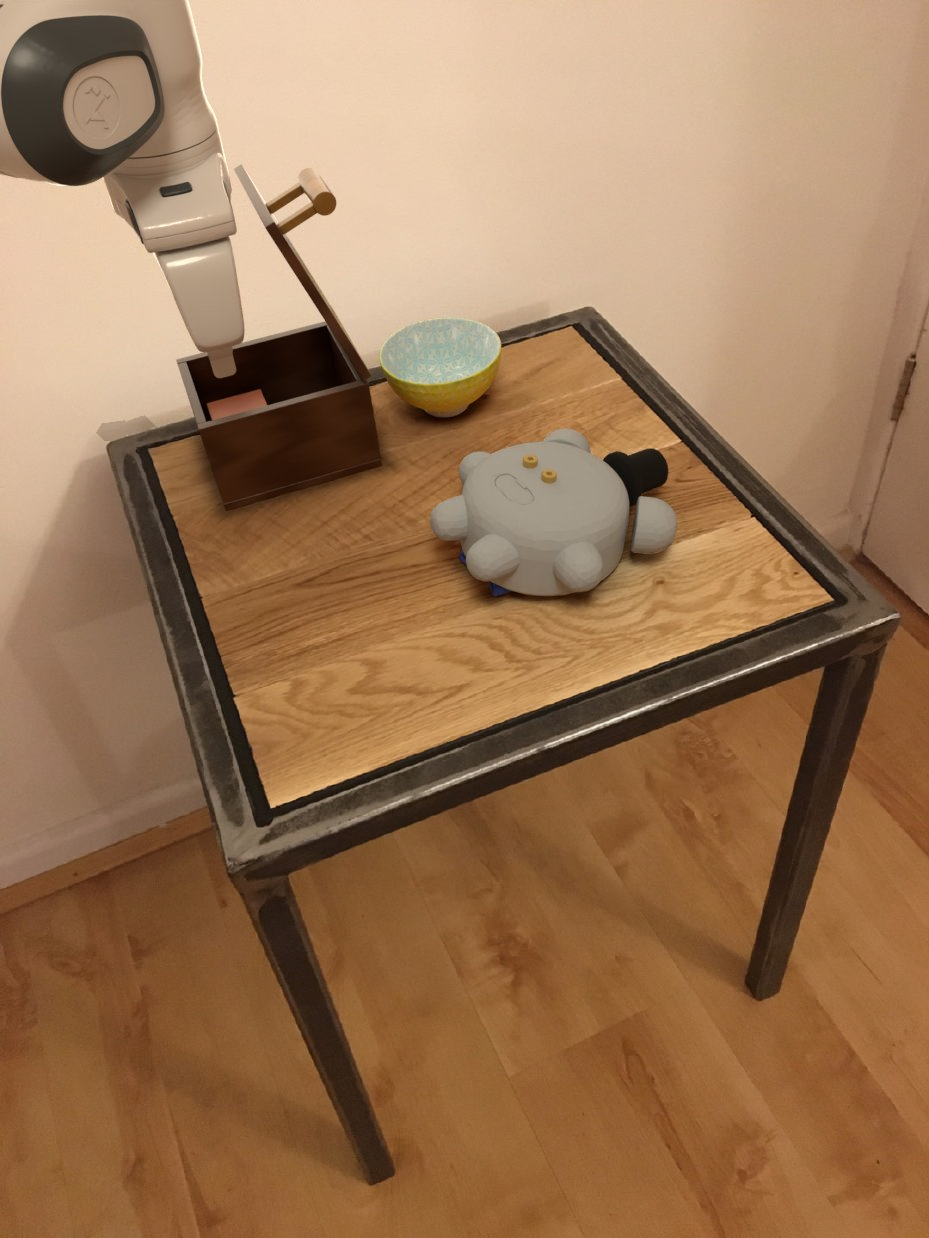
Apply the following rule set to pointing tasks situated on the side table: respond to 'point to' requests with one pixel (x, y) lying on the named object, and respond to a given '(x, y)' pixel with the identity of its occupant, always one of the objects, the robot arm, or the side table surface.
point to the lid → (319, 203)
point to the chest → (284, 415)
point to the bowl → (441, 363)
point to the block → (236, 404)
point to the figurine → (554, 514)
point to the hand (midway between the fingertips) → (213, 344)
